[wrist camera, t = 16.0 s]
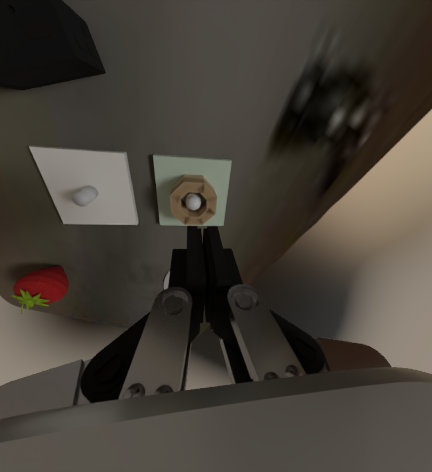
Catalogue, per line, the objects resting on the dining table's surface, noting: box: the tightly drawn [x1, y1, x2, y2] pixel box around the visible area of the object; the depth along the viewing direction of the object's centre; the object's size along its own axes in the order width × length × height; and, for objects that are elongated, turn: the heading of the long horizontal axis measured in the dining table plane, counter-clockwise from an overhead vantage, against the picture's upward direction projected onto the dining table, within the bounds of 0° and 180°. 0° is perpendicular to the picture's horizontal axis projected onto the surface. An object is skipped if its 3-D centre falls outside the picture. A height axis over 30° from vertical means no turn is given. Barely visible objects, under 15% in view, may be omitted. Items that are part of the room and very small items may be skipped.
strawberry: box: [11, 266, 69, 314], centre depth 32 cm, size 6×8×10 cm
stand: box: [29, 146, 138, 225], centre depth 27 cm, size 12×12×4 cm
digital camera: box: [0, 0, 106, 90], centre depth 17 cm, size 10×5×7 cm, turn 100°
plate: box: [153, 154, 232, 226], centre depth 29 cm, size 12×12×5 cm
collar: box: [170, 174, 217, 225], centre depth 29 cm, size 7×7×4 cm
